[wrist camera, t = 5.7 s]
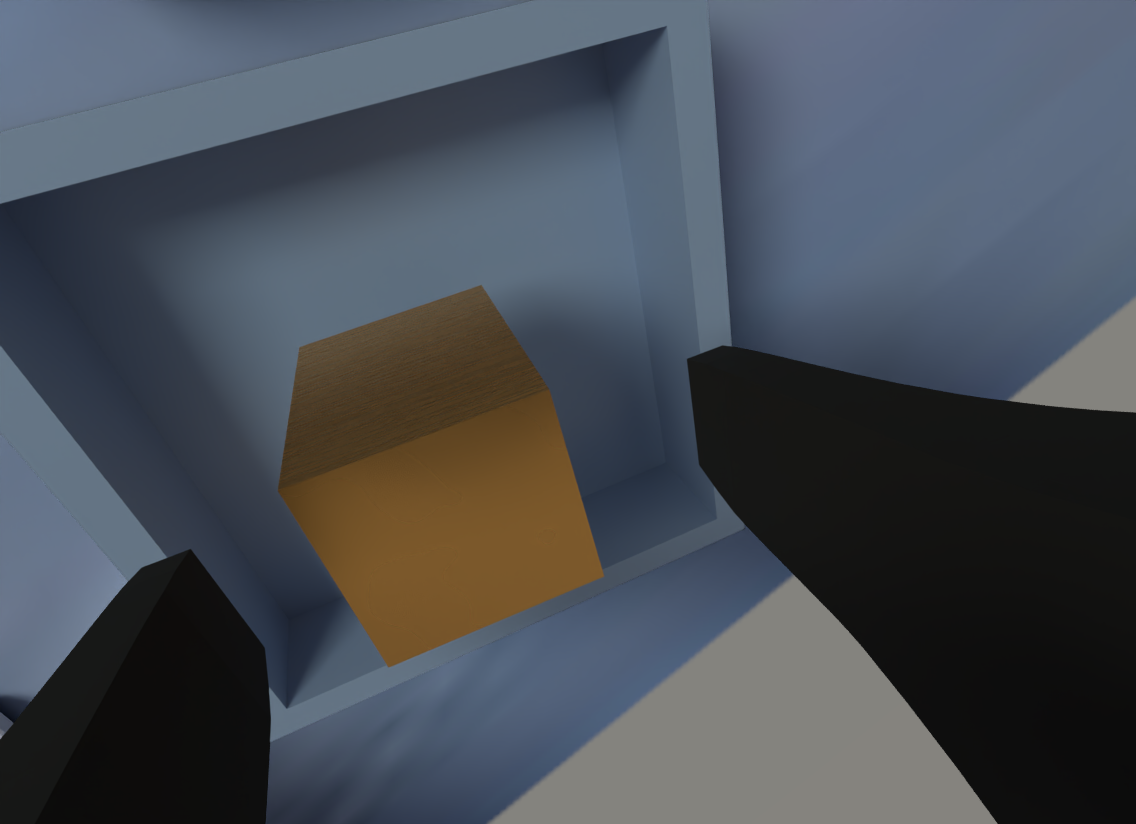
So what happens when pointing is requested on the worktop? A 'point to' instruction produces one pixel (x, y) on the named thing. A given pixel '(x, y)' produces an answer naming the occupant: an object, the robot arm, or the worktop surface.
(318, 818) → the worktop surface
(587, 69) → the tray
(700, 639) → the worktop surface
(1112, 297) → the worktop surface
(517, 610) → the orange rectangular block
